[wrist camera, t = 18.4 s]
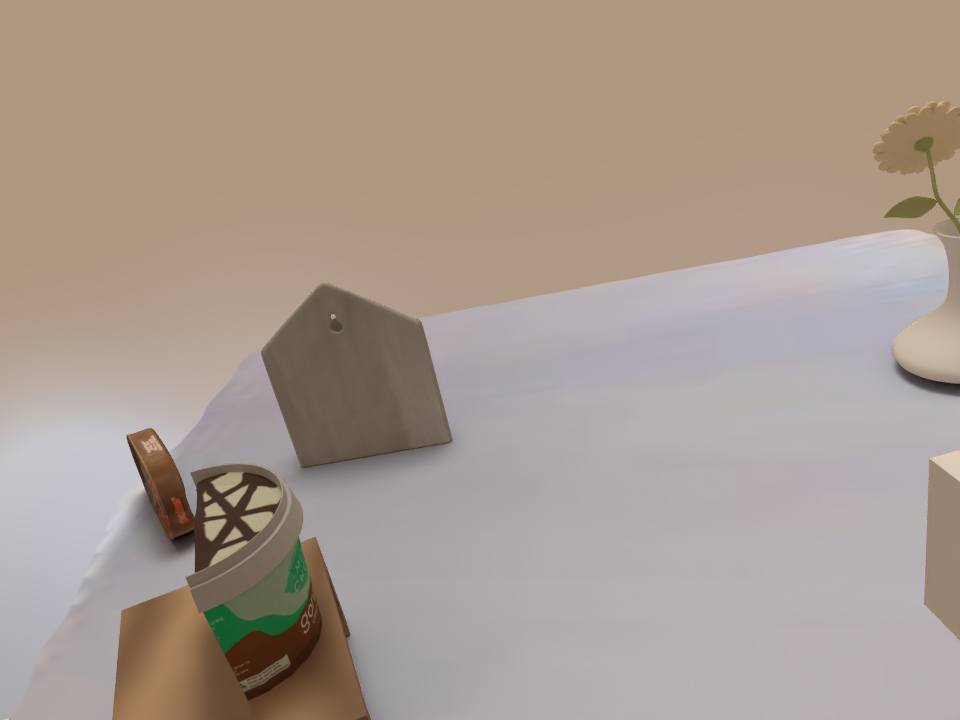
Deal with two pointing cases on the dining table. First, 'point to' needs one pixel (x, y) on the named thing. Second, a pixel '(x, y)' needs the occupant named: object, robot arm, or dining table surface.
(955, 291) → the flower in vase
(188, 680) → the walnut shelf
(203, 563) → the food container
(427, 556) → the dining table surface
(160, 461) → the tin
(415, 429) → the planter
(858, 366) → the dining table surface
